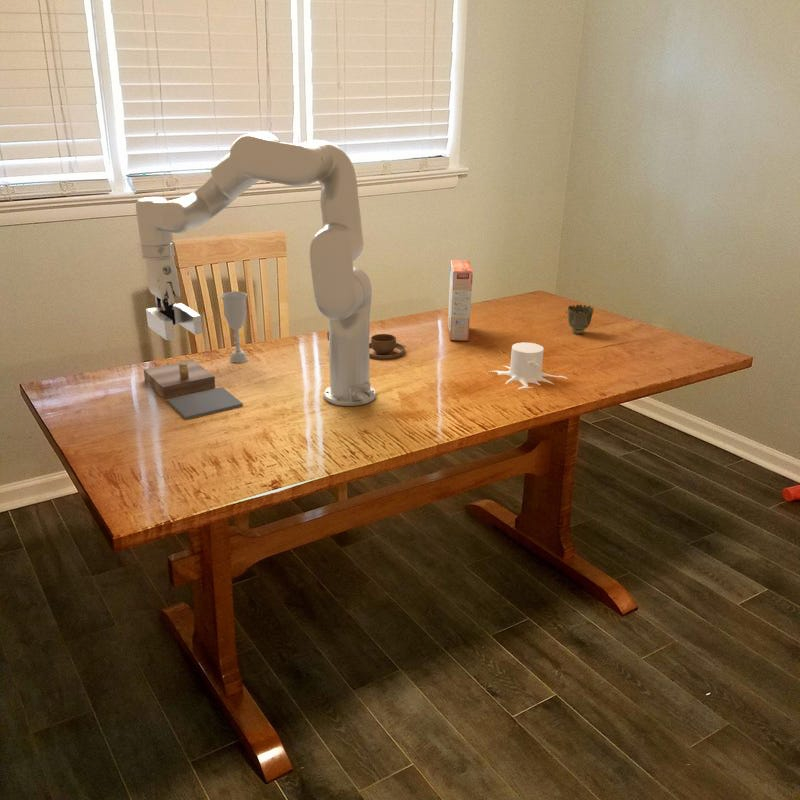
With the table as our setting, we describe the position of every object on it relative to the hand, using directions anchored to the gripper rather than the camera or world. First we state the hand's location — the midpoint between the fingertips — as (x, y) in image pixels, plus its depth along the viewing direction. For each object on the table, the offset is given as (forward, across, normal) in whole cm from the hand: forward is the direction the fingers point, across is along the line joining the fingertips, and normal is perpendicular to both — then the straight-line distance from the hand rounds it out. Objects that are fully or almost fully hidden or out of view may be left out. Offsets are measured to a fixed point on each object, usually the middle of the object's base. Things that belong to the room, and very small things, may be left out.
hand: (167, 323), depth 198 cm
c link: (0, -5, 0) cm, 5 cm away
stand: (+14, -5, 0) cm, 15 cm away
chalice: (+15, +3, -19) cm, 24 cm away
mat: (+15, -20, 0) cm, 25 cm away
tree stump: (+17, -49, -77) cm, 93 cm away
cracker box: (+16, -12, -83) cm, 85 cm away
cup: (+16, -31, -114) cm, 119 cm away
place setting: (+16, -10, -54) cm, 57 cm away
